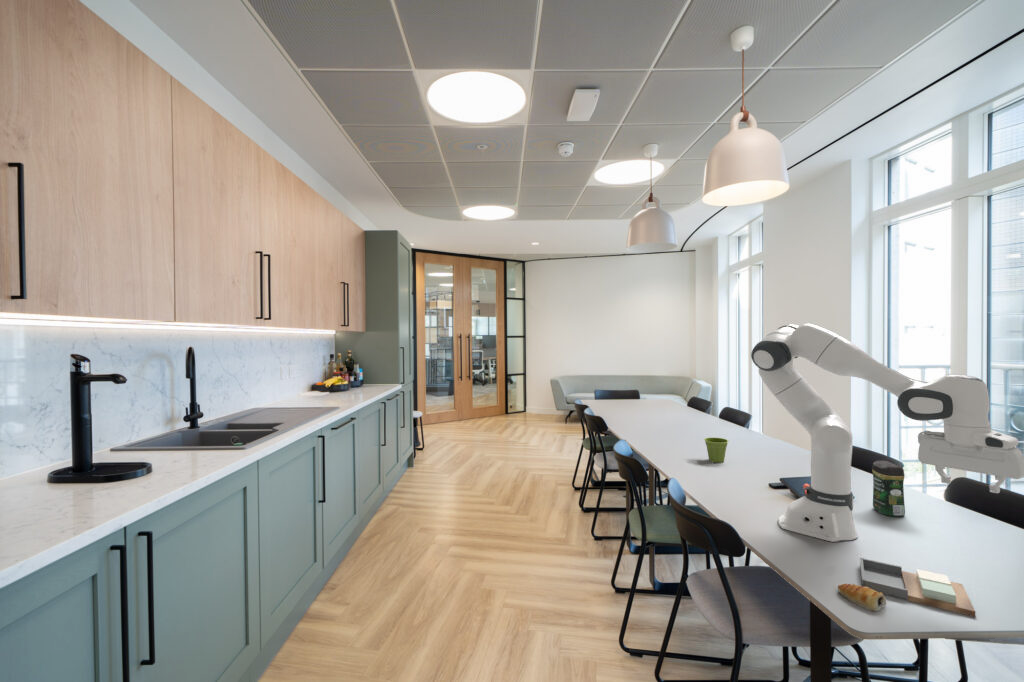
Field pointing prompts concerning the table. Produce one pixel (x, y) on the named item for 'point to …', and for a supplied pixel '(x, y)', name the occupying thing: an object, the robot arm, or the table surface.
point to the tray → (883, 578)
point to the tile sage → (937, 591)
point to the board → (915, 595)
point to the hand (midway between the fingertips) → (969, 487)
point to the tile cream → (932, 577)
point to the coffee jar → (888, 488)
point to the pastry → (863, 596)
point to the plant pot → (716, 449)
